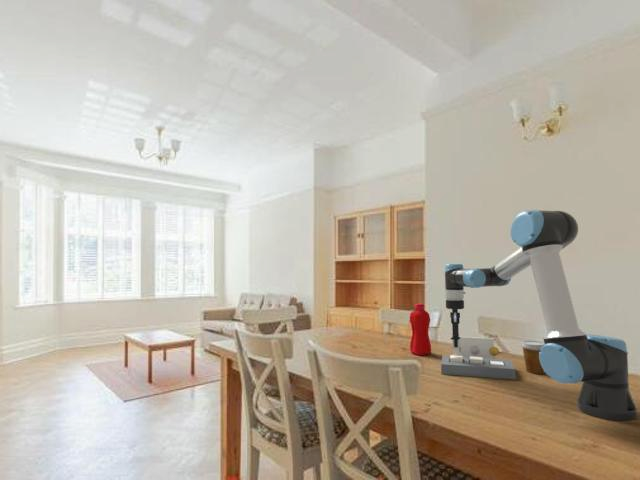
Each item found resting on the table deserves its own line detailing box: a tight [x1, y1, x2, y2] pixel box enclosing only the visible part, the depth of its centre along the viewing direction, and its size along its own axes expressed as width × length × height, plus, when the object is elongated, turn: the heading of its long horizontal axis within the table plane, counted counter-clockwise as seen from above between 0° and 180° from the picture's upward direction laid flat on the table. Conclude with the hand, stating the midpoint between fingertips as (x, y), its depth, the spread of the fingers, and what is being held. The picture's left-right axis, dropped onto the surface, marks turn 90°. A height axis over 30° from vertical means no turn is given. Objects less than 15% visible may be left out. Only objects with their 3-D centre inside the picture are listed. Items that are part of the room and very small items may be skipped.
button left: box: [449, 354, 463, 363], centre depth 173 cm, size 5×5×3 cm
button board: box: [440, 354, 517, 381], centre depth 171 cm, size 16×28×4 cm, turn 71°
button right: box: [490, 361, 504, 365], centre depth 168 cm, size 5×5×3 cm
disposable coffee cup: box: [521, 340, 545, 375], centre depth 169 cm, size 10×10×12 cm
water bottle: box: [408, 303, 432, 356], centre depth 204 cm, size 9×11×25 cm
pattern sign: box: [451, 336, 500, 359], centre depth 186 cm, size 6×20×12 cm, turn 71°
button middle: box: [470, 356, 483, 364], centre depth 171 cm, size 5×5×3 cm
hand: (456, 354), depth 174 cm, fingers closed
